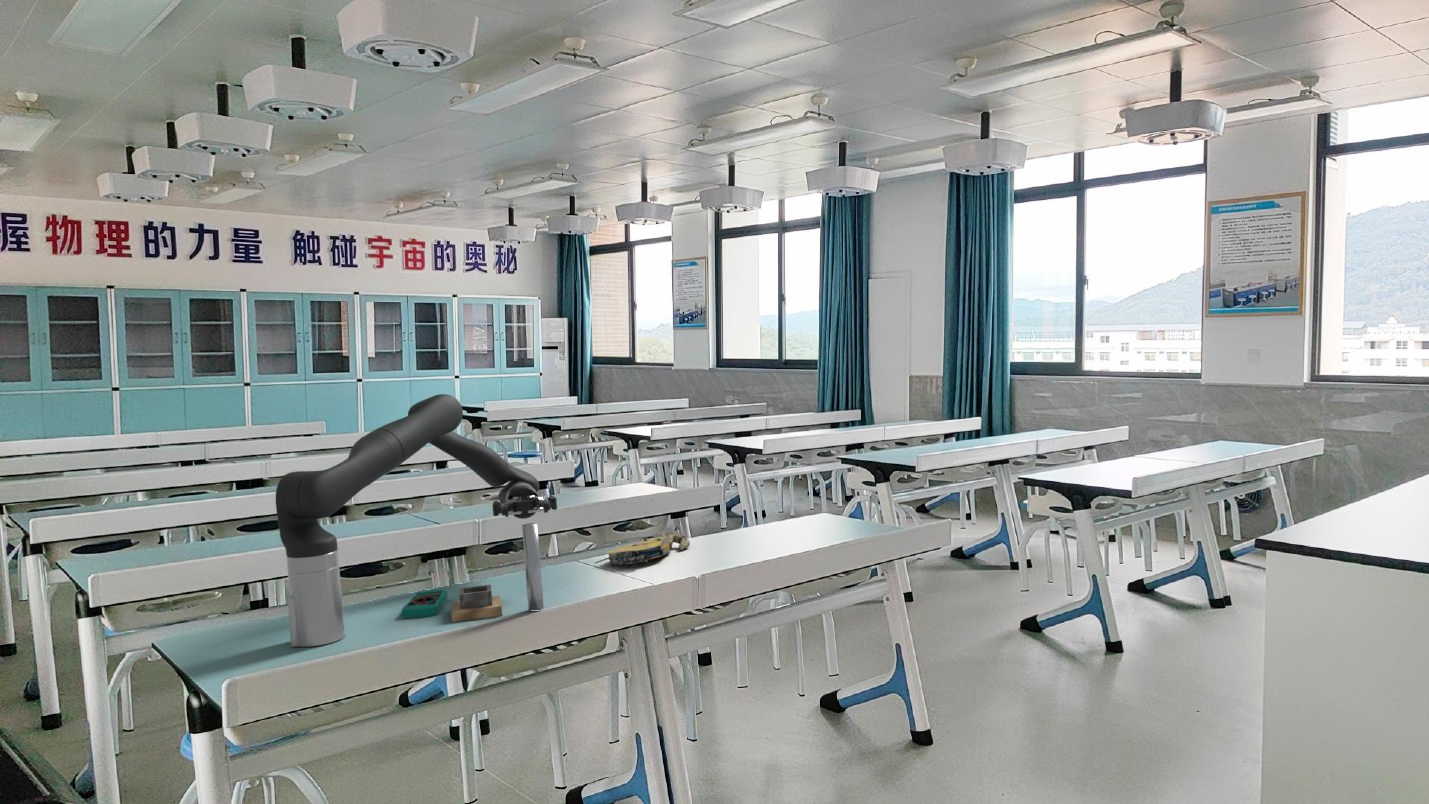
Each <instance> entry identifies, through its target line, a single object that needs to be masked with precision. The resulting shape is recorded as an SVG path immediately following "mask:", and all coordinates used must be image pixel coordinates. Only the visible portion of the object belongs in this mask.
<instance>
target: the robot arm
mask: <svg viewBox="0 0 1429 804" xmlns="http://www.w3.org/2000/svg"><path fill="white" fill-rule="evenodd" d="M463 416H464V414H463V406H462V404H461V403H460V401H459V400H458V399H457V398H456V397H454V396H453V395H450V394H445V393H439V394H435V395H433V396H429V397H428V398H426V399H423V400H420V401H418V402H416V403H415V404H413V405H412V406H410V407H409V410H408V412H407V416H405V417H402V418H398V419H396V420H393V421H391V422H388V423H387V424H384V425H382V426H380V427H378V428H376V429H373V430H372V431H370V432H369V433H366V435H364V436H361V438H359V439H358V440H356V442H355V443H353V445H352V447H351V449H350V452H349V454H348V457H347V458H346V459H344V460H343V461H342V462H340V463H337V464H336V465H333V466H332V467H329V468H326V469H323V470H306V471H305V470H303V471H302V470H301V471H299V470H297V471H292V472H287V473H286V474H285V475H283V476H282V477H281V478H280V480H279V481H278V484H277V486H276V491H275V509H276V516H277V523H278V524H277V525H278V529H279V530H278V531H279V536H280V541H281V542H282V545H283V548H284V549H285V555H286V565H287V566H286V567H287V578H288V586H289V587H288V588H289V596H287V609H288V619H289V620H288V621H289V632H290V643H291V645H290V647H291V648H293V647H295V648H296V647H303V648H304V647H315V646H322V645H327V644H331V643H332V644H333V643H335V642H337V641H340V640H342V639H344V637H345V634H346V633H345V624H344V610H343V598H342V587H341V574H340V573H341V571H340V561H339V551H338V549H339V547H338V540H337V539H338V538H337V537H336V536H335V535H334V534H333V533H331V532H329V531H327V530H326V529H324V528H323V527H322V526H321V524H320V523H319V521H318V519H323V518H328V517H329V516H332V515H334V514H335V513H336V512H338V511H339V510H340V509H341V508H342V507H344V505H346V504H347V503H348V502H349V501H350V500H351V499H352V498H354V497H355V496H356V495H357V494H358V493H359V492H361V491H362V490H364V489H365V488H367V487H368V486H370V485H372V484H373V483H374V482H376V481H377V480H379V479H380V478H382V477H383V476H385V475H387V474H389V473H390V472H392V471H393V470H394V469H396V468H398V467H399V466H400V465H402V464H403V463H404V462H405V461H407V460H408V459H410V458H411V457H412V456H414V455H415V454H417V453H418V452H419V451H420V450H421V449H423V448H424V447H425V446H426V445H427V444H430V445H432V446H434V447H436V448H437V449H439V450H441V451H442V452H444V453H445V454H447V455H449V456H450V457H452V458H454V459H455V460H457V461H459V462H460V463H462V464H463V465H465V466H466V467H468V468H469V469H470V470H471V471H473V473H475V474H476V475H477V476H478V477H479V478H481V479H482V480H483V481H484V482H485V483H487V485H489V486H490V487H492V488H501V487H502V486H503V485H505V486H504V487H503V488H502V489H501V490H500V491H499V492H498V497H497V498H498V500H499V501H498V500H494V501H493V502H492V515H493V517H498V516H500V514H501V516H505V518H509V516H513V517H514V518H518V519H521V520H524V519H529V518H531V517H533V516H534V515H535V514H536V513H542V512H544V513H545V514H546V513H548V511H551V510H553V511H555V510H557V509H558V504H557V496H556V497H555V495H553V494H552V495H551V494H550V495H548V496H546V498H543V496H539V494H538V492H539V491H540V483H539V480H538V479H537V478H536V477H535V475H532V474H531V473H529V472H527V471H525V470H522V469H520V468H518V467H515V466H514V465H512V464H510V463H509V462H507V461H506V460H505V459H504V458H503V457H502V456H501V455H500V454H499V453H497V452H496V451H495V450H494V449H493V448H491V447H489V446H487V445H485V444H483V443H480V442H478V441H475V440H472V439H469V438H467V437H464V436H462V435H460V434H458V433H457V432H455V430H456V429H457V428H459V426H460V424H461V423H462V421H463Z"/></svg>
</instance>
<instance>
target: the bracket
mask: <svg viewBox="0 0 1429 804" xmlns="http://www.w3.org/2000/svg"><path fill="white" fill-rule="evenodd" d="M458 592H459V600H452V601H451V608H450V609H451V612H450V613H451V614H450V615H451V622H452V623H455V622H456V623H457V622H464V621H472V620H481V619H487V618H495V617H503V610H502V609H503V607H502V600H501V599H502V598H501V595H492V594H493V593H492V585H491V584H485V585H478V586H477V585H475V586H469V587H460V588H459V591H458Z"/></svg>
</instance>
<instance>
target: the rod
mask: <svg viewBox="0 0 1429 804" xmlns="http://www.w3.org/2000/svg"><path fill="white" fill-rule="evenodd" d="M538 526H539V523H537V522H532V523H524V524H522V525H521V529H522V542H523V555H524V558H523V559H524V569H525V570H524V571H525V583H526V595H527V597H526V598H527V610H529V611H531V610H541V609H543V608H544V609H545V607H544V604H545V603H544V593H543V579H542V577H543V576H542V567H541V566H542V565H541V564H542V563H541V550H540V538H539V527H538ZM529 611H528V612H529Z"/></svg>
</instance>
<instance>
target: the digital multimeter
mask: <svg viewBox="0 0 1429 804" xmlns="http://www.w3.org/2000/svg"><path fill="white" fill-rule="evenodd" d="M447 594H448V592H447V591H446V590H445V589H437V590H424V591H418V592H417V591H416V592H415V593H414V594H412V596H411V598H410V599H409V600H408V602H407V603H406V604H405V605H404V606H403V607H402V608H401V619H416V618H417V619H419V618H425V617H426V618H427V617H433V616H438V615H439V613H440V610H441V608H442V607H443V605H444V604H445V603H446V602H447V600H448V595H447Z"/></svg>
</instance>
